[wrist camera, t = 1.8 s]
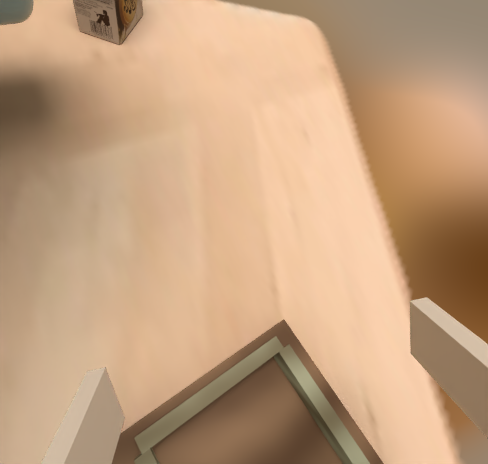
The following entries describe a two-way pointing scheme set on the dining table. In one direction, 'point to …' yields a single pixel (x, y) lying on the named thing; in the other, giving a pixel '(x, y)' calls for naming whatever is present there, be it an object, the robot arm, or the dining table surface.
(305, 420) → the jig cradle
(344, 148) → the dining table surface
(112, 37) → the coffee box
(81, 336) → the dining table surface
